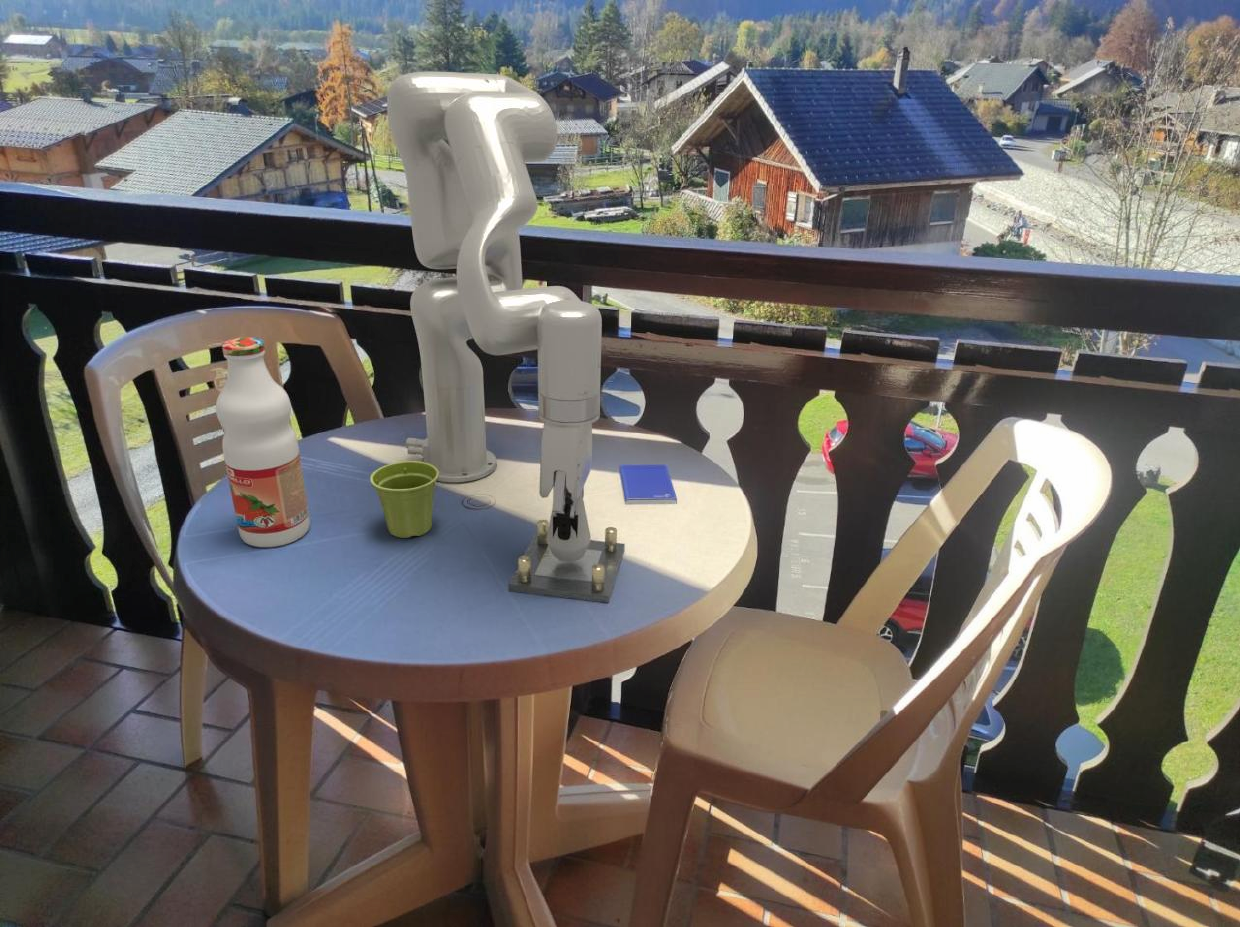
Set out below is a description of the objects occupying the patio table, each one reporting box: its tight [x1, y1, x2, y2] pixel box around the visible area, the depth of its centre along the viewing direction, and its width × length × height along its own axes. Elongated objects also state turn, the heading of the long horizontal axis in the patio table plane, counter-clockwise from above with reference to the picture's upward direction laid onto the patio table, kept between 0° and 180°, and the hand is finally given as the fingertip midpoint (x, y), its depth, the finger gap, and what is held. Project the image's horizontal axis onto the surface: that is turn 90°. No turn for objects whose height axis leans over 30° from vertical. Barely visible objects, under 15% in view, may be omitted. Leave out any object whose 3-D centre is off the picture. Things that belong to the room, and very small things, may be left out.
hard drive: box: [618, 464, 678, 506], centre depth 132 cm, size 2×8×12 cm
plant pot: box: [369, 460, 439, 539], centre depth 116 cm, size 9×9×9 cm
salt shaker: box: [546, 482, 591, 562], centre depth 105 cm, size 6×6×13 cm
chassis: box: [508, 519, 626, 604], centre depth 108 cm, size 13×13×4 cm
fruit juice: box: [215, 337, 311, 548], centre depth 109 cm, size 9×9×28 cm
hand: (568, 533), depth 106 cm, fingers closed on salt shaker, 3 cm apart
